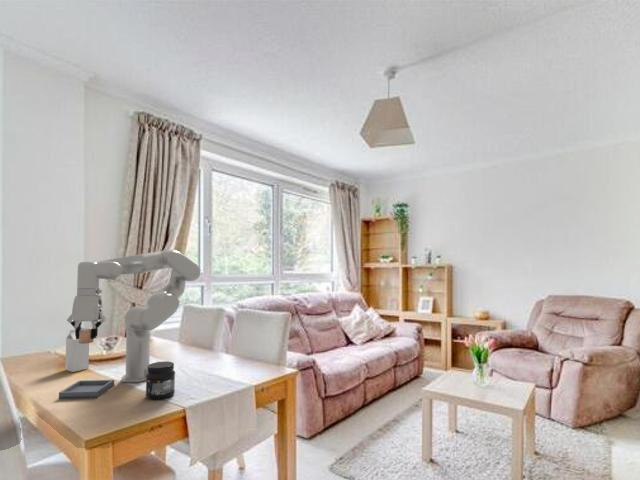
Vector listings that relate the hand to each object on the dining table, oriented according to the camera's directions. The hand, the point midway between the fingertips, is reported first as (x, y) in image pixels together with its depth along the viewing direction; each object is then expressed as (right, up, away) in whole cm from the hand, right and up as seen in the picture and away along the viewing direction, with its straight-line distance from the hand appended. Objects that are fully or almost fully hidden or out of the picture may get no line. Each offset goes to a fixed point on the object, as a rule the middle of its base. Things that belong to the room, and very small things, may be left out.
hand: (86, 337), depth 153 cm
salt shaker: (0, -2, 0) cm, 2 cm away
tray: (+1, -22, -1) cm, 22 cm away
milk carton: (-22, -23, +30) cm, 44 cm away
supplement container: (+31, -22, -4) cm, 38 cm away
